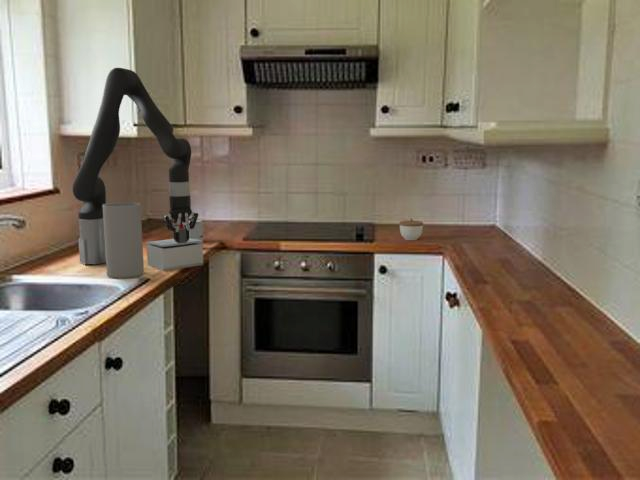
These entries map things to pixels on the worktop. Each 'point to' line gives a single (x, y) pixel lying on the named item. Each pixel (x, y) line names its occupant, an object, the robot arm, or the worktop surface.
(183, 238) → the grey plate
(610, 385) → the worktop surface
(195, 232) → the skincare box
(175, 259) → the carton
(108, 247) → the cylinder vase
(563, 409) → the worktop surface
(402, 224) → the lidded jar
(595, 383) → the worktop surface
